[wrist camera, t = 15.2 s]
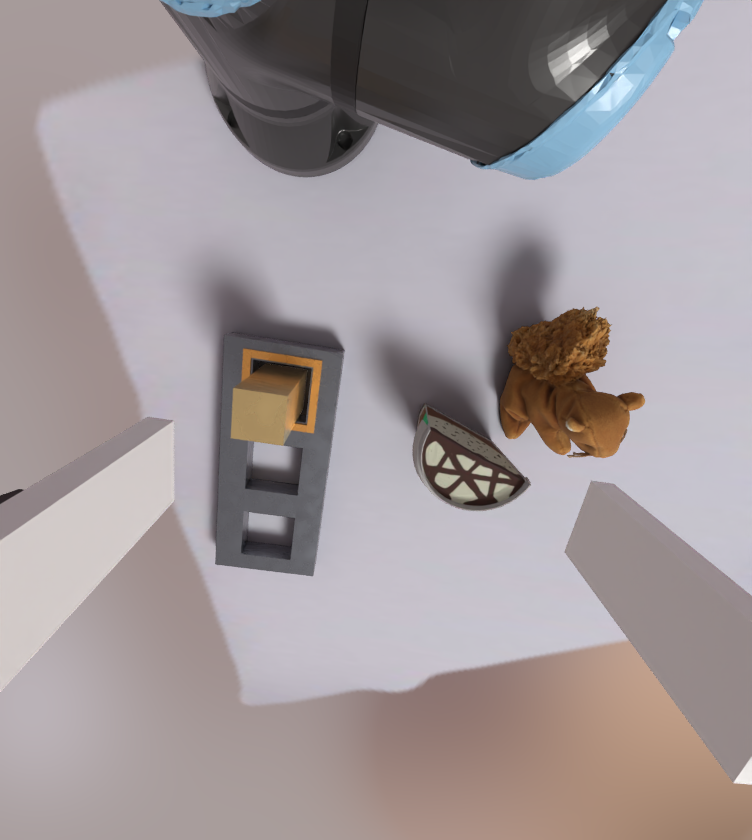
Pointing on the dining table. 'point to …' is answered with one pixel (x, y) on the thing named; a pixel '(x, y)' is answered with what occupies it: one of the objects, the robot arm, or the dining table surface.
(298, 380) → the brass post
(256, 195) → the dining table surface
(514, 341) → the stuffed squirrel
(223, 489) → the grey slotted tray
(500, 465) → the food container
